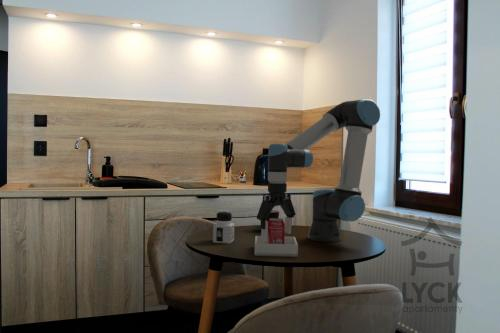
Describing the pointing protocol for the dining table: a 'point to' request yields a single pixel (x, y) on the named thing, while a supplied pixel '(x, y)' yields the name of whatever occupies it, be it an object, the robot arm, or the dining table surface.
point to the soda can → (276, 231)
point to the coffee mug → (273, 215)
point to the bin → (276, 247)
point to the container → (223, 228)
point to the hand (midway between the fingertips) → (276, 235)
